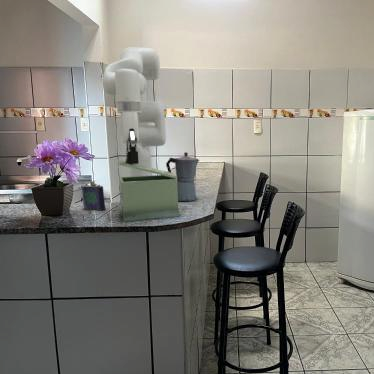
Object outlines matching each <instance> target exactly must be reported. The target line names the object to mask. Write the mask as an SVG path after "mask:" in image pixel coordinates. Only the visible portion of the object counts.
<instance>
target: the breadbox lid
mask: <svg viewBox="0 0 374 374" xmlns="http://www.w3.org/2000/svg"><path fill="white" fill-rule="evenodd" d="M126 151H127V150H126ZM126 151H125V156H126V155H127V157H126V158H125V160H121V159H117V163H118V165H119V166H122V167H126V168H129V169H130V168H134V169H138V170H142V171H147V172H151V173H152V174H155V175H163V176H167V177H171V178H175V179H177V176H176V174H173V173H172V172H171V173H170V172H168V170H167V171H166V170H162V169H158V168H154V167H152V168H150V167H146V166H142V165H138V164H129V163H128V151H127V152H126Z"/></svg>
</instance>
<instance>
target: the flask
mask: <svg viewBox="0 0 374 374" xmlns="http://www.w3.org/2000/svg"><path fill="white" fill-rule="evenodd" d="M95 182H96V180H93V181H89V184H90V185H89V184H88V185H82V186H81V192H82V206H83V210H85V211H86V210H88V211H105V210H106V204H105V203H106V202H105V194H104V186H103V185H100V184H97V183H95Z"/></svg>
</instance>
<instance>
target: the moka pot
mask: <svg viewBox="0 0 374 374" xmlns="http://www.w3.org/2000/svg"><path fill="white" fill-rule="evenodd" d="M183 155H184V156H180V157H170V158H168V160H167V161H166V163H165V165H166V169H167V172H170V173H172V170H171V165H170V164H171V163H172V164H173V163H174V165H175V176H177V191H178V202H179V201H180V202H190V201H191V202H193V201H196V199H197V194H196V186H195V185H196V184H195V178H196V172H197V166H198V163H199V162H200V159H199V158H197V157H196V158H195V157H190V156H188V155H189V154H188V152H184V153H183Z"/></svg>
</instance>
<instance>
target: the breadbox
mask: <svg viewBox="0 0 374 374" xmlns="http://www.w3.org/2000/svg"><path fill="white" fill-rule="evenodd" d="M119 193H120V207H121V215H122V219H123V222H125V223H126V222H134V221H146V220H155V219H157V220H158V219H167V218H175V217H180V214H179V201H178V191H177V179H175V178H171V177H167V176H163V175H159V174H155V175H153V174H152V176H135V177H131V176H122V177H121V176H119Z"/></svg>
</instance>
